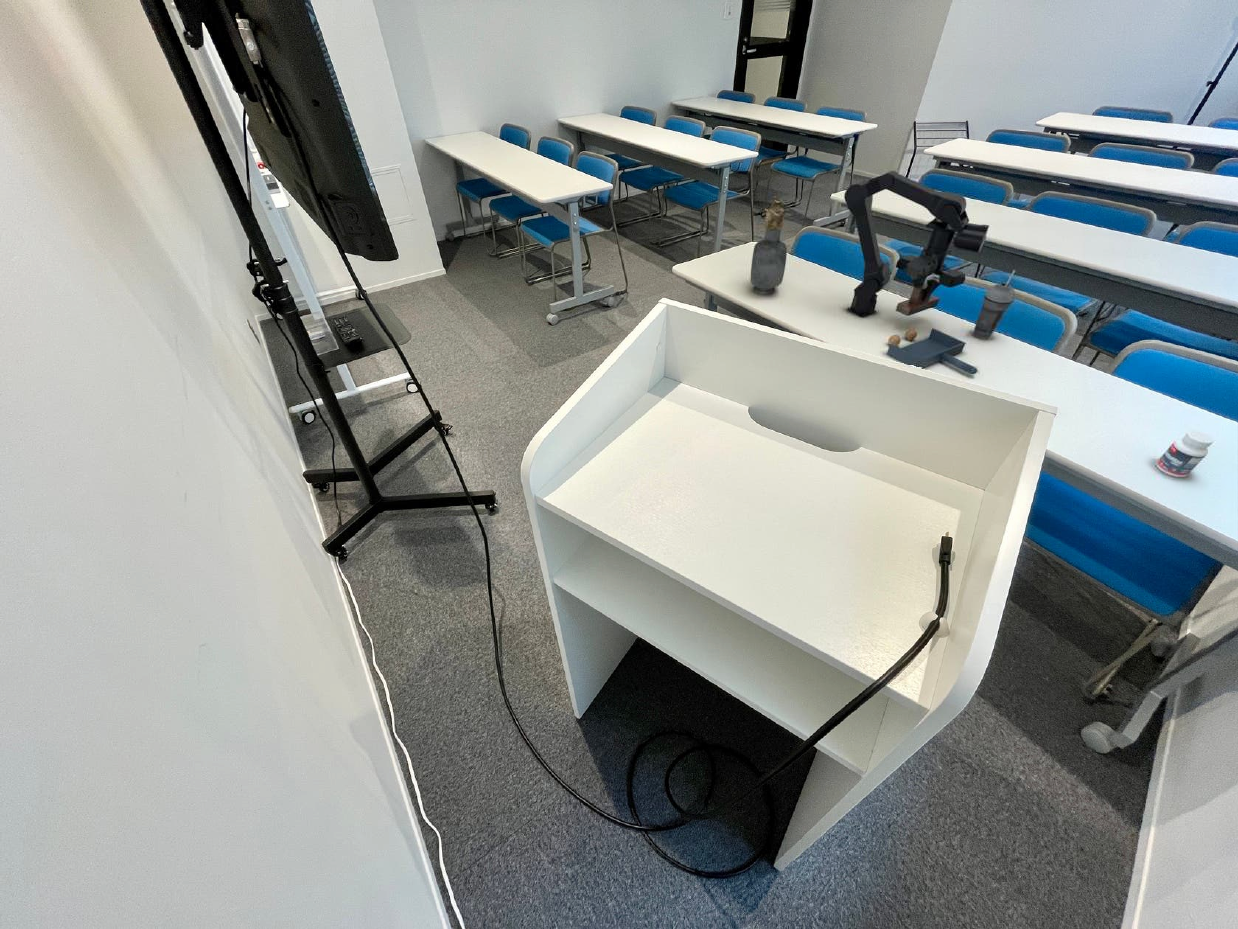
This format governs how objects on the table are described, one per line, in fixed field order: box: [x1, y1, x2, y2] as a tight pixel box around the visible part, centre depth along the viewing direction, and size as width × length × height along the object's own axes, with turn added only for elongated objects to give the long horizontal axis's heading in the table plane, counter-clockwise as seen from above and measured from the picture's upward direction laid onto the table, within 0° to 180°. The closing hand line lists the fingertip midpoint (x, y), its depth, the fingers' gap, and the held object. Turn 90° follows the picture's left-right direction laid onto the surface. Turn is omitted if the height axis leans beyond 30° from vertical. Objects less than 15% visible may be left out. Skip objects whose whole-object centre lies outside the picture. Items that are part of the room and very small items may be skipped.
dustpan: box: [886, 327, 978, 375], centre depth 145 cm, size 20×18×3 cm
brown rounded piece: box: [904, 328, 918, 341], centre depth 155 cm, size 3×3×3 cm
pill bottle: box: [1155, 430, 1215, 478], centre depth 108 cm, size 5×5×9 cm
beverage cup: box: [972, 269, 1017, 340], centre depth 150 cm, size 7×7×20 cm
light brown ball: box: [887, 334, 902, 347], centre depth 153 cm, size 3×3×3 cm
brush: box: [895, 282, 941, 317], centre depth 158 cm, size 4×13×7 cm, turn 119°
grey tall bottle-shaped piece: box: [750, 195, 790, 296], centre depth 177 cm, size 11×19×30 cm, turn 169°
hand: (919, 298), depth 158 cm, fingers closed on brush, 2 cm apart
